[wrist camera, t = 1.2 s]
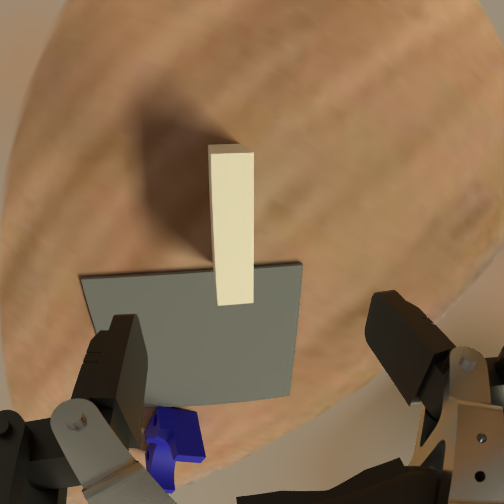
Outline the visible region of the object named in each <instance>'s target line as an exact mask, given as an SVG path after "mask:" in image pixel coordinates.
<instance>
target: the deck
mask: <svg viewBox="0 0 504 504" xmlns="http://www.w3.org/2000/svg"><path fill="white" fill-rule="evenodd" d="M208 165H209V194H210V218H211V238H212V257H213V269H214V278H215V287H216V295H217V304H218V306H222V305H235V304H247V303H254V153H253V152H252V151H250V150H249V149H247V148H246V147H244V146H243V145H241V144H213V145H208Z"/></svg>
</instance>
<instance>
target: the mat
mask: <svg viewBox="0 0 504 504" xmlns="http://www.w3.org/2000/svg"><path fill="white" fill-rule="evenodd" d="M302 270H303V264H302V263H294V264H280V265H267V266H254V303H247V304H235V305H222V306H218V304H217V295H216V287H215V278H214V269H211V270H196V271H180V272H165V273H148V274H132V275H115V276H97V277H82V279H81V282H82V286H83V289H84V293H85V296H86V300H87V303H88V307H89V310H90V314H91V317H92V320H93V323H94V326H95V329H96V332H97V333H98V332H99V331H100V330H109V327H110V324H111V321H112V318H113V316H114V315H116V314H137V315H138V318H139V321H140V326H141V330H142V334H143V338H144V342H145V346H146V350H147V355H148V372H147V380H146V388H145V397H144V407H158V406H162V407H180V406H199V405H214V404H226V403H236V402H246V401H254V400H262V399H270V398H277V397H284V396H289V394H290V387H291V379H292V370H293V362H294V353H295V344H296V335H297V325H298V315H299V305H300V294H301V282H302Z"/></svg>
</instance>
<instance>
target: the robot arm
mask: <svg viewBox="0 0 504 504" xmlns="http://www.w3.org/2000/svg"><path fill="white" fill-rule="evenodd" d="M365 338H366V341H367V343H368V345H369V347H370V348H371V349H372V351H373V352H374V354H375V355H376V357H377V358H378V360H379V361H380V363H381V364H382V366H383V367H384V369H385V370H386V372H387V373H388V374H389V376H390V377H391V379H392V380H393V382H394V383H395V385H396V387H397V388H398V390H399V391H400V393H401V394H402V396H403V397H404V399H405V400H406V402H407V403H408V405H409V406H412V405H415V404H418V403H420V402H422V403H423V404H424V407H423V408H422V410H421V415H420V421H419V428H418V433H417V439H416V445H415V450H414V454H413V457H412V459H411V461H410V463H409V465H408V466H404V465H403V463H402V461H401V459H400V458H397V459H394V460H392V461H389V462H386V463H383V464H381V465H378V466H375V467H372V468H369V469H366V470H364V471H362V472H361V473H359V474H357V475H355V476H354V477H352V478H350V479H349V480H347V481H345V482H343V483H341V484H340V485H338V486H336V487H334V488H332V489H330V490H327V491H277V492H271V493H264V494H257V495H250V496H241V497H236V499H237V504H504V347H503V348H502V350H501V352H500V354H499V356H498V357H493V358H484V356H483V355H482V354H481V353H480V352H479V351H477V350H476V349H474V348H471V347H467V346H458V347H456V346H455V345H454V344H453V343H452V342H451V341H450V340H449V339H448V337H447V336H446V335H445V334H444V333H443V332H442V331H441V330H440V329H439V328H438V327H437V326H436V325H434V324H433V322H432V321H431V320H430V319H429V318H427V316H426V315H425V314H424V313H423V312H422V311H421V310H420V309H419V308H418V307H416V306H415V305H413V304H411V303H409V302H408V301H406V300H405V299H404V298H403V297H402V296H401V295H400V294H399V293H398V292H397V291H395V290H389V291H382V292H376V293H374V294H373V296H372V299H371V304H370V308H369V313H368V317H367V321H366V326H365ZM147 372H148V355H147V350H146V346H145V342H144V338H143V334H142V330H141V326H140V321H139V318H138V315H137V314H116V315H114V316H113V318H112V321H111V324H110V327H109V330H100V331H99V332H98V333H97V334H96V335H95V336H94V338H93V339H92V340H91V341H90V344H89V347H88V349H87V354H86V355H85V358H84V361H83V364H82V366H81V369H80V372H79V375H78V378H77V381H76V384H75V387H74V390H73V394H72V397H71V399H70V400H67V401H65V402H63V403H61V404H60V405H59V406H57V407H56V409H55V410H54V411H53V413H52V415H51V418H47V419H41V420H35V421H29V422H25V421H24V420H23V419H22V417H21V416H20V415H19V414H18V413H17V412H15V411H12V410H3V411H0V504H66V498H67V487H73V486H79V485H82V487H83V490H82V492H83V495H84V497H85V498H86V500H87V502H88V503H89V504H177V503H176V502H175V501H174V500H173V499H172V498H171V497H170V496H169V495H168V494H167V493H166V492H165V491H164V489H163V488H162V487H161V486H160V485H159V484H158V483H157V482H156V481H155V479H154V478H153V477H152V476H151V475H150V474H149V473H148V471H147V470H146V469H145V468H144V467H143V466H142V465H141V464H140V463H139V462H138V461H136V460H135V459H134V458H133V457H132V455H131V454H130V453H129V452H128V451H129V448H140V441H141V428H142V417H143V407H144V397H145V388H146V380H147Z"/></svg>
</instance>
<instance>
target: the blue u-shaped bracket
mask: <svg viewBox="0 0 504 504" xmlns="http://www.w3.org/2000/svg"><path fill="white" fill-rule="evenodd" d="M145 442H148V443H151V444H150V446H149V448H148V450H147V451H146V453H145V458H146V469H147V471H148V473H149V474H150V475H151V476H152V477H153V478H154V479H155V481H156V482H157V483H158V484H159V485H160V486H161V487H162V488H163V489H164V491H165V492H166V493H173V492H174V491H175V485H174V468H175V462H176V461H182V462H194V463H201V462H202V461H203V460H204V459H205V458H206V455H205V450H204V446H203V441H202V436H201V431H200V426H199V421H198V416H197V412H193V411H186V410H179V409H173V408H167V407H162V406H158V407H157V409H156V411H155V413H154V415H153V417H152V419H151V420H150V422H149V424H148V426H147V428H146V430H145Z"/></svg>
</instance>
